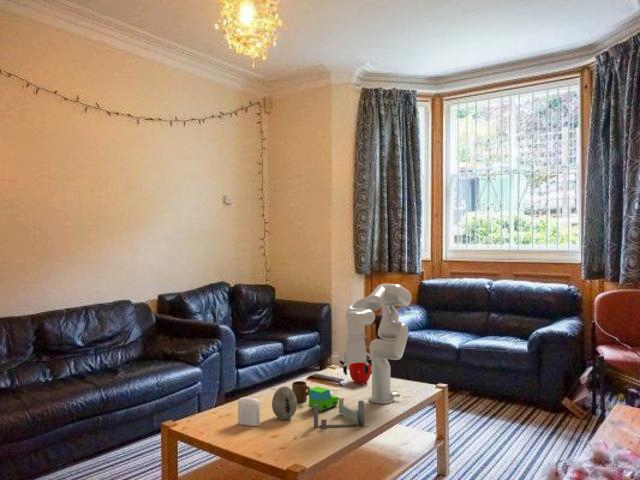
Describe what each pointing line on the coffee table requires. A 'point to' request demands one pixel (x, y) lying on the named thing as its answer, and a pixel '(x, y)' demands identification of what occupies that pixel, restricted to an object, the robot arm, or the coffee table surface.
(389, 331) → the robot arm
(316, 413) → the gate posts
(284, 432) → the coffee table surface
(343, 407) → the gate
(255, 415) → the photo printer
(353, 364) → the ceramic cup
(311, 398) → the green toy car
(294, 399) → the decorative egg
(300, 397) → the mug
